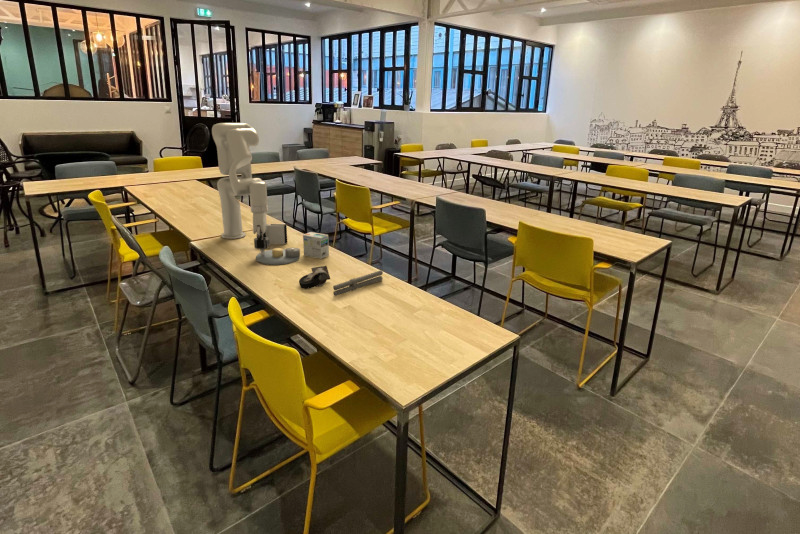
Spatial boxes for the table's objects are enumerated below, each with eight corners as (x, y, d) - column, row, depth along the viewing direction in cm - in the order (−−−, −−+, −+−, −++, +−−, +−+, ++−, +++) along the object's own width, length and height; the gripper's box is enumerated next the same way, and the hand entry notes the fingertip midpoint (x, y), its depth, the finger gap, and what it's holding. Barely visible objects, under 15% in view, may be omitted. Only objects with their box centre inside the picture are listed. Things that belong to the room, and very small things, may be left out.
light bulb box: (329, 255, 226) (329, 234, 222) (321, 259, 220) (321, 238, 217) (311, 251, 230) (310, 231, 226) (303, 255, 224) (302, 234, 221)
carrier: (259, 251, 228) (259, 242, 227) (301, 251, 231) (301, 242, 229) (252, 265, 210) (251, 255, 208) (298, 264, 212) (297, 255, 211)
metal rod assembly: (378, 279, 200) (378, 268, 198) (383, 281, 198) (383, 270, 196) (331, 295, 182) (331, 284, 180) (336, 298, 180) (336, 286, 178)
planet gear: (256, 244, 220) (255, 236, 219) (270, 244, 221) (270, 236, 220) (253, 249, 214) (252, 241, 212) (268, 249, 215) (267, 241, 213)
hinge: (260, 245, 236) (258, 226, 233) (259, 242, 241) (258, 224, 238) (287, 244, 240) (286, 225, 237) (287, 241, 245) (286, 223, 242)
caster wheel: (299, 294, 187) (305, 282, 196) (326, 291, 186) (330, 278, 195) (295, 280, 184) (300, 268, 193) (322, 277, 183) (326, 264, 192)
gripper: (254, 204, 218) (256, 240, 225) (247, 212, 202) (250, 251, 209) (270, 204, 219) (272, 240, 226) (264, 213, 203) (267, 251, 210)
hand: (262, 245), depth 217 cm, fingers closed on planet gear, 6 cm apart
